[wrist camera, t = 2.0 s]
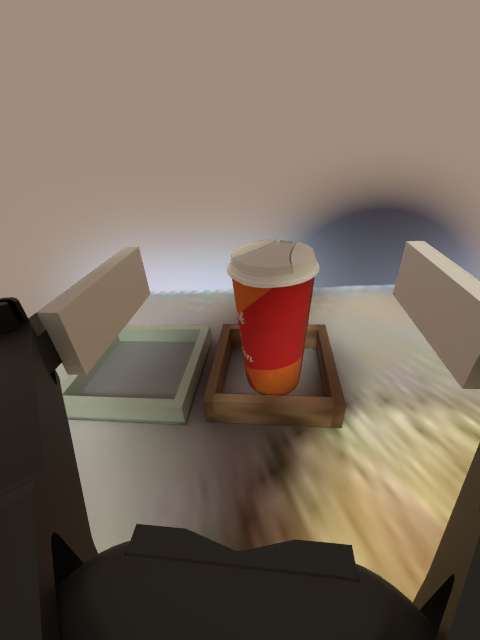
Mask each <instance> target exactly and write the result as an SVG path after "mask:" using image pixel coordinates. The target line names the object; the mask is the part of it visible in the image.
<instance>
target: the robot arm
mask: <svg viewBox="0 0 480 640" xmlns="http://www.w3.org/2000/svg"><path fill="white" fill-rule="evenodd" d="M149 295H150V290H149V286H148V282H147V279H146V275H145V270H144V266H143V262H142V258H141V254H140V250H139V247H124V248H123V249H122V250H120V251H119V252H118V253H116V254H115V255H113V256H112V257H111V258H109V259H108V260H107V261H105V262H104V263H103V264H101V265H100V266H99V267H98V268H96V269H95V270H93V271H92V272H91V273H89V274H88V275H87V276H85V277H84V278H83V279H81V280H80V281H78V282H77V283H76V284H74V285H73V286H72V287H70V288H69V289H68V290H66V291H65V292H64V293H62V294H61V295H60V296H58V297H57V298H56V299H54V300H53V301H51V302H50V303H49V304H47V305H46V306H45V307H43V308H42V309H41V310H39V311H38V312H37V313H35V314H34V315H33V316H31V317H30V318H29V319H28V317H27V315H26V314H25V312H24V310H23V308H22V306H21V304H20V302H19V300H18V299H17V298H12V297H10V298H2V299H0V640H480V443H479V446H478V448H477V451H476V453H475V456H474V458H473V461H472V463H471V466H470V468H469V471H468V473H467V476H466V479H465V481H464V484H463V486H462V489H461V491H460V494H459V496H458V499H457V501H456V504H455V506H454V509H453V511H452V514H451V516H450V519H449V522H448V524H447V527H446V529H445V532H444V534H443V537H442V539H441V542H440V544H439V547H438V549H437V552H436V554H435V557H434V559H433V562H432V565H431V567H430V569H429V572H428V574H427V576H426V578H425V580H424V582H423V584H422V586H421V588H420V589H419V591H418V593H417V595H416V597H415V599H414V601H413V603H412V602H411V601H410V600H409V599H408V598H407V597H406V596H405V595H404V594H402V593H401V592H400V591H399V590H398V589H397V588H395V587H394V586H393V585H392V584H390V583H389V582H387V581H386V580H385V579H383V578H382V577H380V576H379V575H377V574H375V573H374V572H372V571H370V570H368V569H367V568H365V567H363V566H360V565H358V564H356V563H355V560H354V554H353V549H352V545H345V544H335V543H325V542H315V541H305V540H291V541H287V542H282V543H277V544H273V545H268V546H263V547H259V548H254V549H249V550H245V551H235V550H232V549H230V548H228V547H225V546H223V545H221V544H219V543H217V542H214V541H212V540H210V539H208V538H205V537H203V536H201V535H199V534H196V533H194V532H192V531H190V530H187V529H183V528H173V527H162V526H152V525H142V524H136V527H135V530H134V533H133V535H132V538H131V541H128V542H124V543H122V544H119V545H116V546H113V547H111V548H109V549H107V550H105V551H103V552H101V553H99V554H98V552H97V550H96V547H95V545H94V542H93V539H92V536H91V532H90V527H89V522H88V517H87V512H86V507H85V502H84V497H83V492H82V487H81V482H80V478H79V473H78V468H77V463H76V458H75V453H74V448H73V443H72V438H71V433H70V428H69V423H68V419H67V414H66V409H65V404H64V399H63V394H62V389H61V384H60V379H59V376H58V374H57V372H56V370H55V369H56V368H57V367H58V366H59V365H60V364H61V363H62V364H63V366H64V368H65V370H66V372H67V374H68V375H87V374H88V373H89V371H90V370H91V369H92V368H93V366H94V365H95V364H96V362H97V361H98V360H99V359H100V357H101V356H102V355H103V354H104V352H105V351H106V350H107V348H108V347H109V346H110V345H111V343H112V342H113V341H114V340H115V338H116V337H117V336H118V335H119V333H120V332H121V331H122V329H123V328H124V327H125V326H126V324H127V323H128V322H129V321H130V319H131V318H132V317H133V316H134V314H135V313H136V312H137V310H138V309H139V308H140V307H141V305H142V304H143V303H144V302H145V300H146V299H147V298H148V296H149ZM393 295H394V296H395V298H396V299H397V300H398V302H399V303H400V304H401V306H402V307H403V308H404V310H405V311H406V313H407V314H408V315H409V317H410V318H411V319H412V321H413V322H414V323H415V325H416V326H417V328H418V329H419V330H420V332H421V333H422V334H423V336H424V337H425V338H426V340H427V341H428V343H429V344H430V345H431V347H432V348H433V349H434V351H435V352H436V353H437V355H438V356H439V358H440V359H441V360H442V362H443V363H444V364H445V366H446V367H447V368H448V370H449V371H450V372H451V374H452V375H453V377H454V378H455V379H456V381H457V382H458V383H459V385H460V386H461V387H462V388H465V389H480V281H479V280H478V279H476V278H475V277H473V276H472V275H471V274H469V273H468V272H466V271H465V270H464V269H462V268H461V267H459V266H458V265H457V264H455V263H454V262H453V261H451V260H450V259H448V258H447V257H445V256H444V255H443V254H441V253H440V252H439V251H437V250H436V249H434V248H433V247H432V246H430V245H429V244H427V243H426V242H425V241H407V242H406V245H405V249H404V253H403V257H402V261H401V265H400V269H399V272H398V276H397V280H396V284H395V288H394V292H393Z"/></svg>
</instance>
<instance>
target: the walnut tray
mask: <svg viewBox="0 0 480 640" xmlns="http://www.w3.org/2000/svg"><path fill="white" fill-rule="evenodd" d="M232 347H242V342H241V336H240V329H239V324H223V328H222V331H221V335H220V339H219V342H218V346H217V350H216V353H215V357H214V361H213V364H212V368H211V372H210V375H209V379H208V383H207V386H206V390H205V394H204V397H203V406H204V411H205V416H206V421H207V422H224V423H245V424H267V425H289V426H310V427H332V428H342V424H343V418H344V413H345V408H346V405H345V401H344V397H343V393H342V389H341V385H340V381H339V377H338V373H337V370H336V366H335V362H334V358H333V354H332V350H331V346H330V342H329V338H328V334H327V330H326V326H325V325H308V326H307V333H306V340H305V347H304V348H316V351H317V356H318V362H319V367H320V372H321V378H322V383H323V389H324V394H325V397H309V396H280V395H250V394H222V393H223V388H224V383H225V378H226V373H227V368H228V363H229V358H230V354H231V349H232Z"/></svg>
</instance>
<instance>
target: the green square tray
mask: <svg viewBox="0 0 480 640" xmlns="http://www.w3.org/2000/svg"><path fill="white" fill-rule="evenodd" d="M211 342H212V337H211V330H210V325H126V326H125V327H124V328H123V329H122V331H121V332H120V333H119V335H118V336H117V337H116V338H115V340H114V341H113V342H112V343H111V345H110V346H109V347H108V348H107V350H106V351H105V352H104V354H103V355H102V356H101V357H100V359H99V360H98V361H97V362H96V364H95V365H94V366H93V368H92V369H91V370H90V371H89V373H88V374H87V375H69V376H68V378H67V379H66V380H65V381H64V382H63V384H62V385H61V389H62V394H63V399H64V404H65V409H66V414H67V419H71V420H92V421H113V422H133V423H154V424H175V425H186V423H187V420H188V416H189V413H190V410H191V407H192V403H193V400H194V397H195V394H196V390H197V387H198V384H199V381H200V377H201V374H202V371H203V368H204V364H205V361H206V358H207V355H208V351H209V348H210V345H211Z"/></svg>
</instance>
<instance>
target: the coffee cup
mask: <svg viewBox="0 0 480 640" xmlns="http://www.w3.org/2000/svg"><path fill="white" fill-rule="evenodd" d="M319 268H320V267H319V264H318V262H317V260H316V257H315V252H314V250H313V249H312V248H311V247H310V246H308V245H306V244H304V243H301V242H298V243H297V244H293V242H292V241H283V240H280V242H276V240H262V241H255V242H251V243H247V244H244V245H242V246H240V247H238V248H237V249H235V250H234V252H233V253H232V255H231V262H230V264H229V266H228V268H227V272H228V275H229V276H230V277H231V278H232V281H233V288H234V295H235V302H236V308H237V315H238V322H239V329H240V336H241V342H242V349H243V355H244V362H245V368H246V374H247V378H248V382H249V384H250V386H251V387H252V388H253V389H254V390H255V391H257V392H258V393H261V394H263V395H280V396H281V395H285V394H287V393H289V392H291V391H292V390H294V389H295V388H296V386H297V384H298V382H299V378H300V372H301V367H302V360H303V353H304V347H305V340H306V333H307V326H308V319H309V312H310V305H311V298H312V291H313V284H314V277H315V276H316V275H317V274H318V272H319Z"/></svg>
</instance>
